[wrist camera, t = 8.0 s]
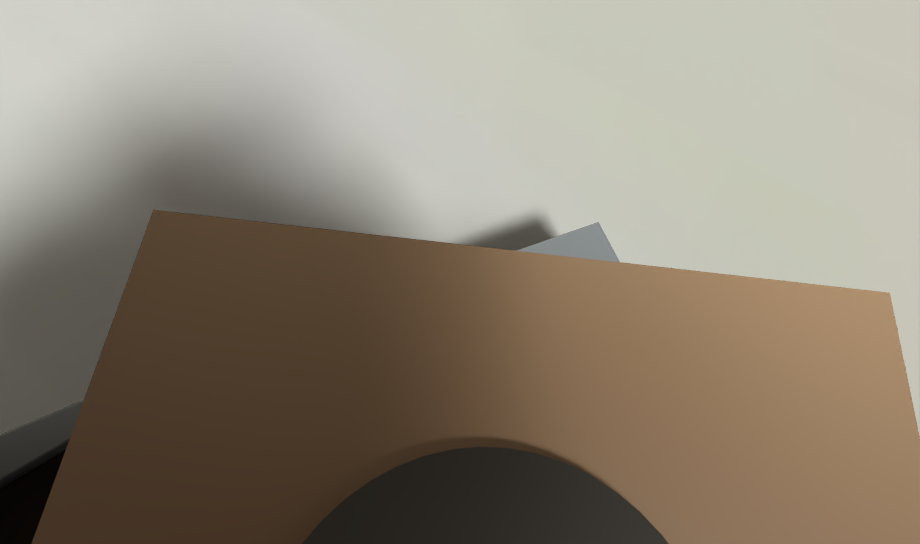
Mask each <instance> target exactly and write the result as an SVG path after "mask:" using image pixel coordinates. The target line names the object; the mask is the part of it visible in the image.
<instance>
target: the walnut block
mask: <svg viewBox="0 0 920 544" xmlns="http://www.w3.org/2000/svg"><path fill="white" fill-rule="evenodd" d="M32 544H920V436H919V432H918V427H917V422H916V417H915V412H914V408H913V403H912V398H911V393H910V388H909V384H908V379H907V374H906V369H905V364H904V360H903V355H902V350H901V345H900V340H899V336H898V331H897V326H896V321H895V316H894V311H893V307H892V302H891V297H890V293H886V292H877V291H869V290H860V289H851V288H842V287H833V286H824V285H815V284H806V283H798V282H789V281H780V280H771V279H762V278H753V277H744V276H736V275H727V274H718V273H709V272H700V271H691V270H682V269H674V268H665V267H656V266H647V265H638V264H629V263H620V262H611V261H603V260H594V259H585V258H576V257H567V256H558V255H549V254H541V253H532V252H523V251H514V250H505V249H496V248H487V247H478V246H470V245H461V244H452V243H443V242H434V241H425V240H416V239H408V238H399V237H390V236H381V235H372V234H363V233H354V232H346V231H337V230H328V229H319V228H310V227H301V226H292V225H283V224H275V223H266V222H257V221H248V220H239V219H230V218H221V217H213V216H204V215H195V214H186V213H177V212H168V211H159V210H153V213H152V216H151V218H150V221H149V224H148V227H147V229H146V232H145V235H144V238H143V240H142V243H141V246H140V248H139V251H138V254H137V257H136V259H135V262H134V265H133V268H132V270H131V273H130V276H129V279H128V281H127V284H126V287H125V289H124V292H123V295H122V298H121V300H120V303H119V306H118V309H117V311H116V314H115V317H114V320H113V322H112V325H111V328H110V330H109V333H108V336H107V339H106V341H105V344H104V347H103V350H102V352H101V355H100V358H99V361H98V363H97V366H96V369H95V371H94V374H93V377H92V380H91V382H90V385H89V388H88V391H87V393H86V396H85V399H84V402H83V404H82V407H81V410H80V412H79V415H78V418H77V421H76V423H75V426H74V429H73V432H72V434H71V437H70V440H69V442H68V445H67V448H66V451H65V453H64V456H63V459H62V462H61V464H60V467H59V470H58V473H57V475H56V478H55V481H54V483H53V486H52V489H51V492H50V494H49V497H48V500H47V503H46V505H45V508H44V511H43V514H42V516H41V519H40V522H39V524H38V527H37V530H36V533H35V535H34V538H33V541H32Z"/></svg>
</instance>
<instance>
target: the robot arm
mask: <svg viewBox="0 0 920 544" xmlns="http://www.w3.org/2000/svg"><path fill="white" fill-rule="evenodd" d="M83 402H84V400H83V401H81V402H78V403H76V404H73V405H71V406H69V407H66V408H64V409H61V410H59V411H57V412H54V413H52V414H49V415H47V416H45V417H42V418H40V419H37V420H35V421H33V422H30V423H28V424H25V425H23V426H21V427H18V428H16V429H13V430H11V431H9V432H6V433H4V434H1V435H0V544H32V541H33V538H34V535H35V533H36V530H37V527H38V524H39V522H40V519H41V516H42V514H43V511H44V508H45V505H46V503H47V500H48V497H49V494H50V492H51V489H52V486H53V483H54V481H55V478H56V475H57V473H58V470H59V467H60V464H61V462H62V459H63V456H64V453H65V451H66V448H67V445H68V442H69V440H70V437H71V434H72V432H73V429H74V426H75V423H76V421H77V418H78V415H79V412H80V410H81V407H82V404H83Z"/></svg>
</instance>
